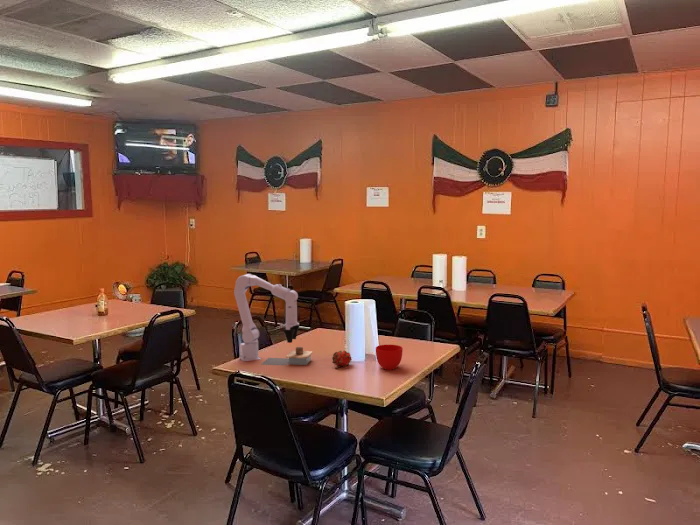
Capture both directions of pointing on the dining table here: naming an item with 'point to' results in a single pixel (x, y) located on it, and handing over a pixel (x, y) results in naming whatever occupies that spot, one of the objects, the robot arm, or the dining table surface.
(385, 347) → the ceramic cup
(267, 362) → the mat
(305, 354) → the lid
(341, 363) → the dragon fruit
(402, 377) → the dining table surface
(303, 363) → the dish
